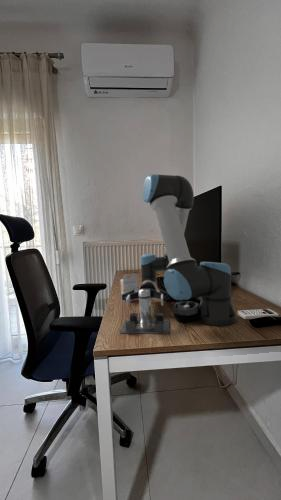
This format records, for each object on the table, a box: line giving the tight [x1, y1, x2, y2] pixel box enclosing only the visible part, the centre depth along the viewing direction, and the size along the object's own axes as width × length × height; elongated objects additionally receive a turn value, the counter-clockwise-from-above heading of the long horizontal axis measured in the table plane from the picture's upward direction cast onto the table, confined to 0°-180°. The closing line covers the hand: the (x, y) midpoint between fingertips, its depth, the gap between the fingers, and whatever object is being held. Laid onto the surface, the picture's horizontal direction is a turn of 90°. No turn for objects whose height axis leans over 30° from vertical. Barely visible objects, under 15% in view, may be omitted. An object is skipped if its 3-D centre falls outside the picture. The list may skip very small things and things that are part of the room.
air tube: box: [138, 288, 152, 328], centre depth 93 cm, size 4×4×14 cm
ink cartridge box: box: [120, 272, 139, 303], centre depth 132 cm, size 9×5×15 cm, turn 112°
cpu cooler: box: [172, 300, 200, 324], centre depth 100 cm, size 10×6×10 cm
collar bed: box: [119, 312, 171, 335], centre depth 93 cm, size 18×12×3 cm, turn 84°
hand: (144, 302), depth 93 cm, fingers open, 13 cm apart
